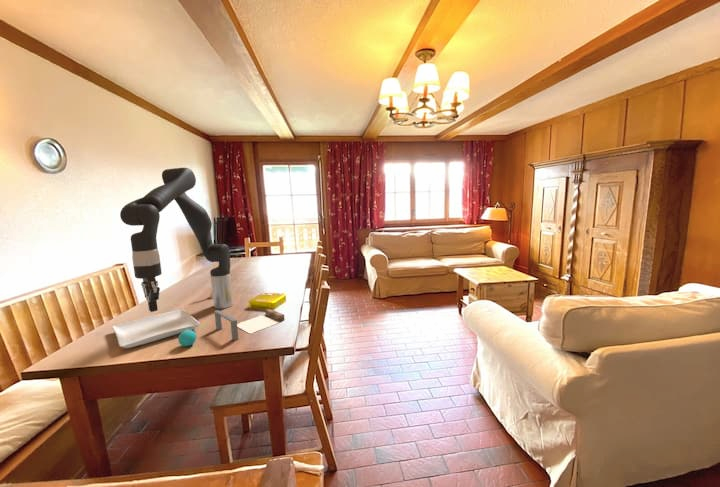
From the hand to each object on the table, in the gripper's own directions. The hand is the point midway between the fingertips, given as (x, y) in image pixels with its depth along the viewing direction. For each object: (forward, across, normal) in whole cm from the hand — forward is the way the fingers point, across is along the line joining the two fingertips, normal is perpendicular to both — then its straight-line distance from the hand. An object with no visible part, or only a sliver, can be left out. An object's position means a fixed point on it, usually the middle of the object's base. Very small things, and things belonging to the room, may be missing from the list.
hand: (153, 310), depth 102 cm
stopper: (+17, +2, +46) cm, 49 cm away
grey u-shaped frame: (+17, +2, +24) cm, 29 cm away
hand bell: (+17, -53, +42) cm, 70 cm away
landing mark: (+17, +3, +36) cm, 40 cm away
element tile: (+18, -16, +54) cm, 59 cm away
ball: (+14, 0, +10) cm, 17 cm away
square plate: (+18, -25, +6) cm, 31 cm away
